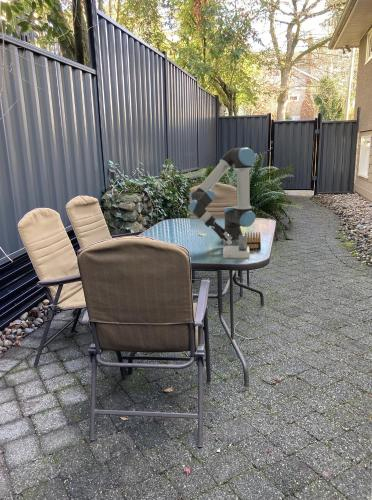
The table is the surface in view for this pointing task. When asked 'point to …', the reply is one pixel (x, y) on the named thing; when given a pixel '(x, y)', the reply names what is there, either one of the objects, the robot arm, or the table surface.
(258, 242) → the ammunition clip
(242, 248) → the cylinder
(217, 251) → the table surface
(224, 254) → the scale
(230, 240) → the ball
